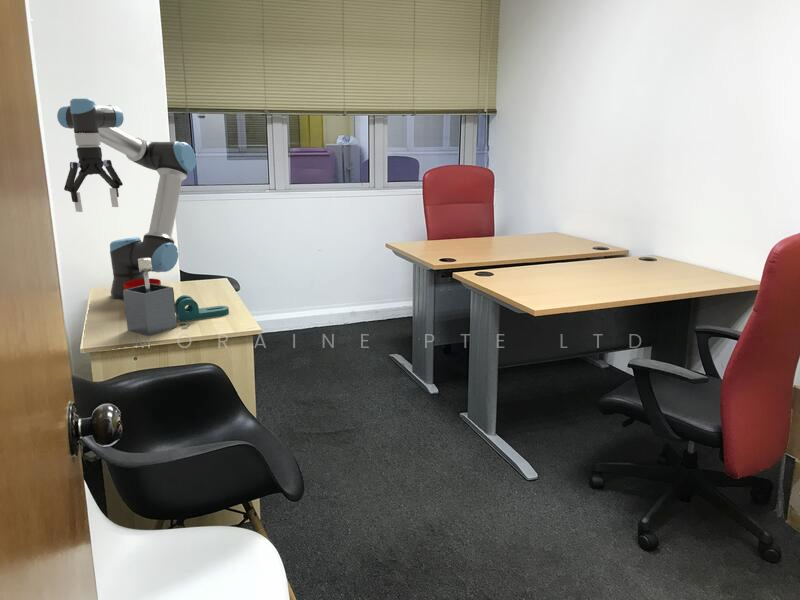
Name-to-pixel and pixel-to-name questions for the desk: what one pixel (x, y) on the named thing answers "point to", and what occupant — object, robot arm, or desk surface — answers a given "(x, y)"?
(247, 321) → the desk surface
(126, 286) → the ceramic cup
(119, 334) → the desk surface
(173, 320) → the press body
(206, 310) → the bracket
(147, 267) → the plunger
